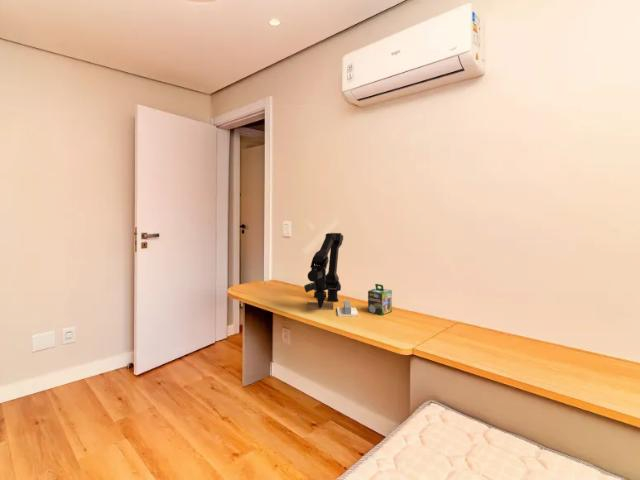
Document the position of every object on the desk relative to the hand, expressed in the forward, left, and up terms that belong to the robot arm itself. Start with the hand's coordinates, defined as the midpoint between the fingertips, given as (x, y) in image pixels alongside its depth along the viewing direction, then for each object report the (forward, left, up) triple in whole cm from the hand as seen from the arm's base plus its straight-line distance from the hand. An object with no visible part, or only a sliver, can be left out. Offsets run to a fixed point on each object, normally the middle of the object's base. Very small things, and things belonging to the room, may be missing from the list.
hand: (320, 306), depth 188 cm
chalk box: (+5, +31, -1) cm, 31 cm away
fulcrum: (+7, +14, -1) cm, 15 cm away
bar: (0, 0, -1) cm, 1 cm away
